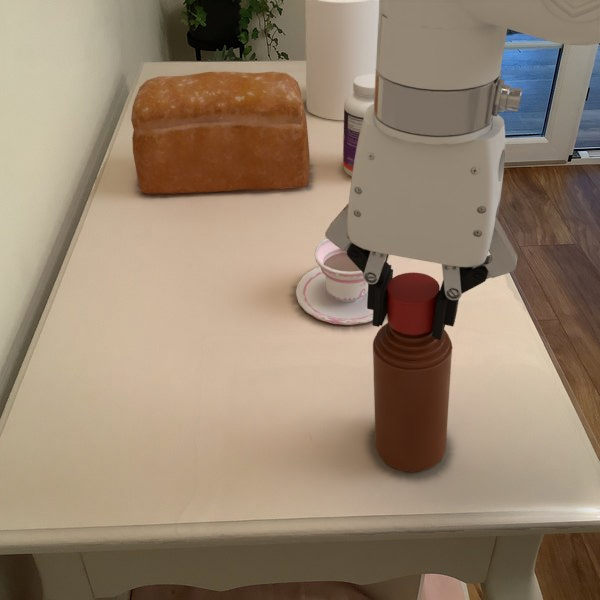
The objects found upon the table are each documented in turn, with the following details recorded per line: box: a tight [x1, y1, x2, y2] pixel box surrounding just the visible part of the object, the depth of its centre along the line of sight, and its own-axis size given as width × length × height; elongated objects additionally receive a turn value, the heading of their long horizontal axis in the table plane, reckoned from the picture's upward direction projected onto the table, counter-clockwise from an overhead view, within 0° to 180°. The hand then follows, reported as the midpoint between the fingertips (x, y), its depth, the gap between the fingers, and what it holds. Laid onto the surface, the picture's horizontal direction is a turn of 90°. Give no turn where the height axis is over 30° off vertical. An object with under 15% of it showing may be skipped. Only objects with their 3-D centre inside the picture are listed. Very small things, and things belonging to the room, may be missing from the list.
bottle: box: [372, 322, 453, 472], centre depth 57 cm, size 6×6×17 cm
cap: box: [386, 272, 441, 335], centre depth 52 cm, size 4×4×3 cm
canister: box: [304, 0, 379, 121], centre depth 121 cm, size 14×14×20 cm
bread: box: [130, 71, 310, 195], centre depth 101 cm, size 14×26×16 cm, turn 93°
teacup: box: [295, 237, 373, 326], centre depth 78 cm, size 12×12×6 cm
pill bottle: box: [342, 74, 375, 177], centre depth 101 cm, size 8×8×14 cm
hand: (410, 320), depth 53 cm, fingers closed on cap, 4 cm apart
